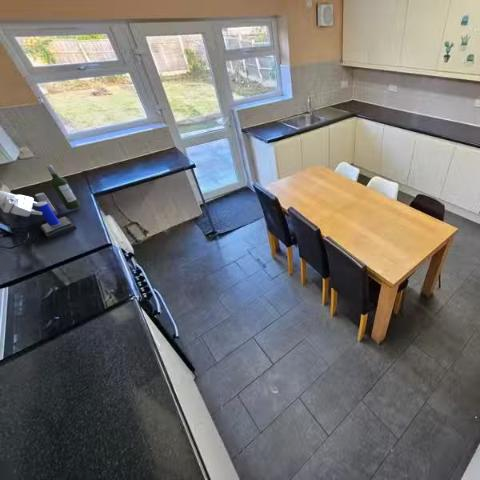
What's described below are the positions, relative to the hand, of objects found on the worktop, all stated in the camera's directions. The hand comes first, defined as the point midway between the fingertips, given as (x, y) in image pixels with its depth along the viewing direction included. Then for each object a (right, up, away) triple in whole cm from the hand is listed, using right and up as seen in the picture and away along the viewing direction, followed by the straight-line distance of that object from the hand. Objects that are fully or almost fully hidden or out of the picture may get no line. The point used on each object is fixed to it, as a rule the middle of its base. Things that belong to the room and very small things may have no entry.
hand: (42, 210), depth 160 cm
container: (-16, -1, +22) cm, 27 cm away
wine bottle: (-8, +5, +29) cm, 31 cm away
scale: (+2, -11, +9) cm, 14 cm away
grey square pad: (+1, -9, +8) cm, 12 cm away
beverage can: (+1, -8, +7) cm, 11 cm away
